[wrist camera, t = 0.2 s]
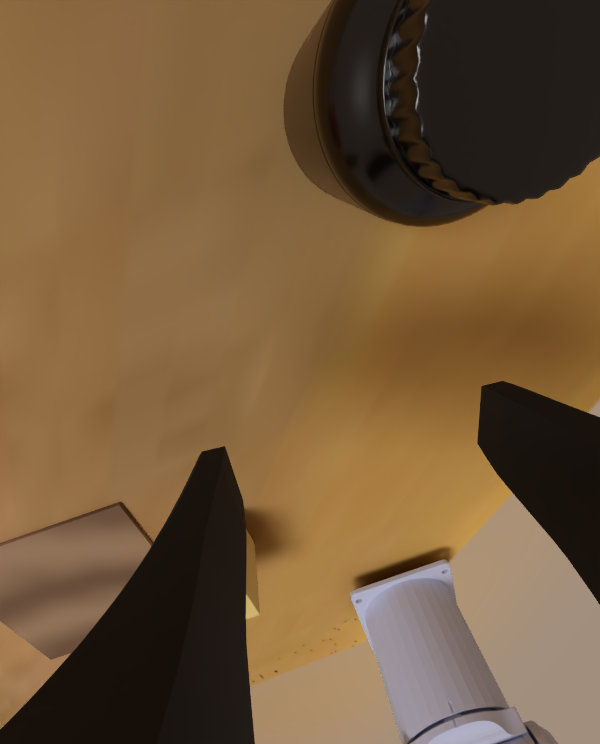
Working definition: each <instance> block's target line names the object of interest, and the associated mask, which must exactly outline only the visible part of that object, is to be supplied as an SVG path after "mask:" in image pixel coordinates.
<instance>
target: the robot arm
mask: <svg viewBox="0 0 600 744" xmlns="http://www.w3.org/2000/svg"><path fill="white" fill-rule="evenodd" d="M478 445H479V446H480V448H481V450H482V451H483V453H484V455H485V456H486V458H487V459H488V461H489V462H490V464H491V465H492V467H493V468H494V470H495V471H496V473H497V474H498V476H499V477H500V478H501V479H502V480H503V482H504V483H505V484H506V485H507V486H508V488H509V489H510V490H511V491H512V492H513V494H514V495H515V496H516V497H517V498H518V499H519V501H520V502H521V503H522V504H523V505H524V506H525V508H526V509H527V510H528V511H529V512H530V514H531V515H532V516H533V517H534V518H535V519H536V521H537V522H538V523H539V524H540V525H541V526H542V528H543V529H544V530H545V531H546V532H547V533H548V535H549V536H550V537H551V538H552V539H553V540H554V542H555V543H556V544H557V545H558V547H559V548H560V549H561V550H562V552H563V553H564V554H565V555H566V557H567V558H568V560H569V561H570V562H571V564H572V565H573V567H574V568H575V569H576V571H577V572H578V574H579V575H580V577H581V578H582V579H583V581H584V582H585V584H586V585H587V587H588V588H589V589H590V591H591V592H592V594H593V595H594V597H595V598H596V600H597V601H598V603H599V604H600V417H597V416H595V415H592V414H589V413H587V412H584V411H581V410H579V409H576V408H573V407H571V406H568V405H566V404H563V403H560V402H558V401H555V400H553V399H550V398H548V397H545V396H543V395H540V394H537V393H535V392H532V391H530V390H527V389H524V388H522V387H519V386H516V385H513V384H510V383H507V382H504V381H501V382H497V383H493V384H488V385H484V386H482V389H481V403H480V416H479V429H478ZM246 565H247V534H246V524H245V514H244V505H243V499H242V496H241V493H240V490H239V487H238V484H237V481H236V478H235V475H234V472H233V469H232V466H231V463H230V460H229V457H228V454H227V451H226V448H225V446H224V447H220V448H216V449H211V450H207V451H203V452H202V453H201V454H200V456H199V458H198V460H197V462H196V464H195V466H194V468H193V470H192V473H191V475H190V477H189V479H188V481H187V483H186V485H185V487H184V489H183V491H182V493H181V495H180V497H179V499H178V501H177V502H176V504H175V506H174V508H173V510H172V512H171V514H170V516H169V517H168V519H167V521H166V523H165V524H164V526H163V528H162V529H161V531H160V533H159V534H158V536H157V538H156V539H155V541H154V543H153V544H152V546H151V548H150V549H149V551H148V553H147V554H146V556H145V557H144V559H143V560H142V562H141V563H140V565H139V566H138V568H137V569H136V571H135V572H134V574H133V575H132V577H131V578H130V579H129V581H128V582H127V584H126V585H125V586H124V588H123V589H122V591H121V592H120V593H119V595H118V596H117V597H116V599H115V600H114V601H113V603H112V604H111V605H110V607H109V608H108V609H107V610H106V612H105V613H104V614H103V616H102V617H101V618H100V619H99V621H98V622H97V623H96V624H95V626H94V627H93V628H92V629H91V631H90V632H89V633H88V634H87V636H86V637H85V638H84V639H83V641H82V642H81V643H80V644H79V645H78V646H77V648H76V649H75V650H74V651H73V652H72V653H71V655H70V656H69V657H68V658H67V659H66V660H65V661H64V662H63V664H62V665H61V666H60V667H59V668H58V669H57V670H56V672H55V673H54V674H53V675H52V676H51V677H50V678H49V679H48V680H47V681H46V682H45V684H44V685H43V686H42V687H41V688H40V689H39V690H38V691H37V692H36V693H35V694H34V696H33V697H32V698H31V699H30V700H29V701H28V702H27V703H26V704H25V705H24V706H23V707H22V708H21V709H20V710H19V711H18V712H17V713H16V714H15V715H14V716H13V717H12V718H11V719H10V720H9V721H8V722H7V723H6V724H5V725H4V726H3V727H2V728H1V729H0V744H255V742H254V731H253V719H252V709H251V696H250V684H249V671H248V658H247V645H246ZM350 597H351V600H352V602H353V605H354V607H355V610H356V612H357V615H358V617H359V619H360V622H361V624H362V627H363V629H364V631H365V634H366V636H367V639H368V641H369V644H370V646H371V648H372V651H373V652H374V653H375V655H376V658H377V661H378V665H379V668H380V671H381V675H382V678H383V681H384V684H385V688H386V692H387V695H388V698H389V701H390V705H391V708H392V712H393V715H394V718H395V722H396V725H397V728H398V732H399V735H400V739H401V742H402V744H558V743H557V742H556V740H555V739H554V737H553V736H552V735H551V734H550V733H549V732H548V731H547V730H545V729H543V728H542V727H540V726H538V724H536V723H535V722H534V721H528V722H525V723H523V722H522V719H521V717H520V716H519V714H518V712H517V710H516V708H515V707H511V708H509V706H508V704H507V702H506V700H505V698H504V696H503V694H502V692H501V690H500V688H499V686H498V684H497V682H496V680H495V678H494V676H493V674H492V673H491V671H490V669H489V667H488V665H487V663H486V661H485V659H484V657H483V655H482V653H481V651H480V649H479V647H478V645H477V643H476V641H475V639H474V637H473V635H472V633H471V632H470V630H469V628H468V626H467V624H466V622H465V620H464V618H463V616H462V614H461V612H460V610H459V608H458V606H457V604H456V598H455V592H454V586H453V580H452V574H451V568H450V564H449V562H448V561H447V560H444V559H443V560H440V561H437V562H434V563H431V564H428V565H425V566H422V567H419V568H416V569H413V570H410V571H408V572H405V573H402V574H399V575H396V576H393V577H390V578H387V579H384V580H381V581H378V582H376V583H373V584H370V585H367V586H364V587H361V588H358V589H355V590H353V591H352V592H351V593H350Z"/></svg>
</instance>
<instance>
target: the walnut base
mask: <svg viewBox="0 0 600 744" xmlns="http://www.w3.org/2000/svg"><path fill="white" fill-rule="evenodd" d="M152 544H153V543H152V542H151V540H150V539H149V538H148V537H147V535H146V534H145V533H144V532H143V530H142V529H141V528H140V526H139V525H138V524H137V523H136V521H135V520H134V519H133V517H132V516H131V515H130V514H129V512H128V511H127V510H126V508H125V507H124V506H123V505H122V503H121V502H118V503H115V504H112V505H109V506H107V507H104V508H101V509H98V510H95V511H92V512H89V513H86V514H83V515H80V516H78V517H75V518H72V519H69V520H66V521H63V522H60V523H57V524H54V525H51V526H49V527H46V528H43V529H40V530H37V531H34V532H31V533H28V534H25V535H23V536H20V537H17V538H14V539H11V540H8V541H5V542H2V543H0V621H1V622H2V623H4V624H5V625H6V626H8V627H9V628H10V629H12V630H13V631H14V632H15V633H17V634H18V635H19V636H21V637H22V638H23V639H25V640H26V641H27V642H29V643H30V644H31V645H32V646H34V647H35V648H36V649H38V650H39V651H40V652H42V653H43V654H44V655H46V656H47V657H48V658H50V659H54V658H57V657H60V656H63V655H66V654H69V653H72V652H73V651H74V650H75V649H76V648H77V646H78V645H79V644H80V643H81V642H82V641H83V639H84V638H85V637H86V636H87V634H88V633H89V632H90V631H91V629H92V628H93V627H94V626H95V624H96V623H97V622H98V621H99V619H100V618H101V617H102V616H103V614H104V613H105V612H106V610H107V609H108V608H109V607H110V605H111V604H112V603H113V601H114V600H115V599H116V597H117V596H118V595H119V593H120V592H121V591H122V589H123V588H124V586H125V585H126V584H127V582H128V581H129V579H130V578H131V577H132V575H133V574H134V572H135V571H136V569H137V568H138V566H139V565H140V563H141V562H142V560H143V559H144V557H145V556H146V554H147V553H148V551H149V549H150V548H151V546H152Z"/></svg>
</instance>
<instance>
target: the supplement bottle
mask: <svg viewBox="0 0 600 744" xmlns="http://www.w3.org/2000/svg"><path fill="white" fill-rule="evenodd" d="M284 124H285V131H286V135H287V139H288V143H289V146H290V149H291V151H292V154H293V156H294V158H295V160H296V162H297V164H298V165H299V167H300V168H301V170H302V171H303V173H304V174H305V175H306V176H307V177H308V179H309V180H310V181H311V182H312V183H313V184H315V185H316V186H317V187H318V188H320V189H321V190H323V191H324V192H326V193H328V194H330V195H332V196H334V197H336V198H338V199H340V200H342V201H344V202H347V203H349V204H351V205H353V206H355V207H357V208H360V209H362V210H364V211H366V212H368V213H371V214H373V215H375V216H377V217H379V218H382V219H385V220H387V221H390V222H394V223H398V224H402V225H407V226H415V227H429V226H438V225H443V224H448V223H452V222H455V221H458V220H461V219H463V218H466V217H468V216H471V215H472V214H474V213H476V212H478V211H480V210H482V209H484V208H485V207H487V206H488V205H498V204H501V203H506V204H518V203H520V202H522V201H524V200H525V199H538V198H540V197H541V196H543V195H544V194H545V193H546V192H547V191H549V190H555V189H559V188H561V187H562V186H563V185H564V184H565V183H566V182H567V181H568V180H569V179H570V178H572V177H575V176H577V175H580V174H581V173H582V172H583V171H584V169H585V168H586V166H587V165H588V164H589V163H590V162H592V161H593V160H595V159H597V158H598V157H600V0H332V1H331V2H330V4H329V5H328V7H327V8H326V10H325V11H324V13H323V14H322V16H321V17H320V19H319V20H318V22H317V23H316V25H315V26H314V28H313V29H312V31H311V32H310V34H309V35H308V37H307V38H306V40H305V41H304V43H303V45H302V46H301V48H300V50H299V52H298V54H297V55H296V58H295V60H294V62H293V64H292V67H291V70H290V73H289V76H288V80H287V83H286V89H285V95H284Z"/></svg>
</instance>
